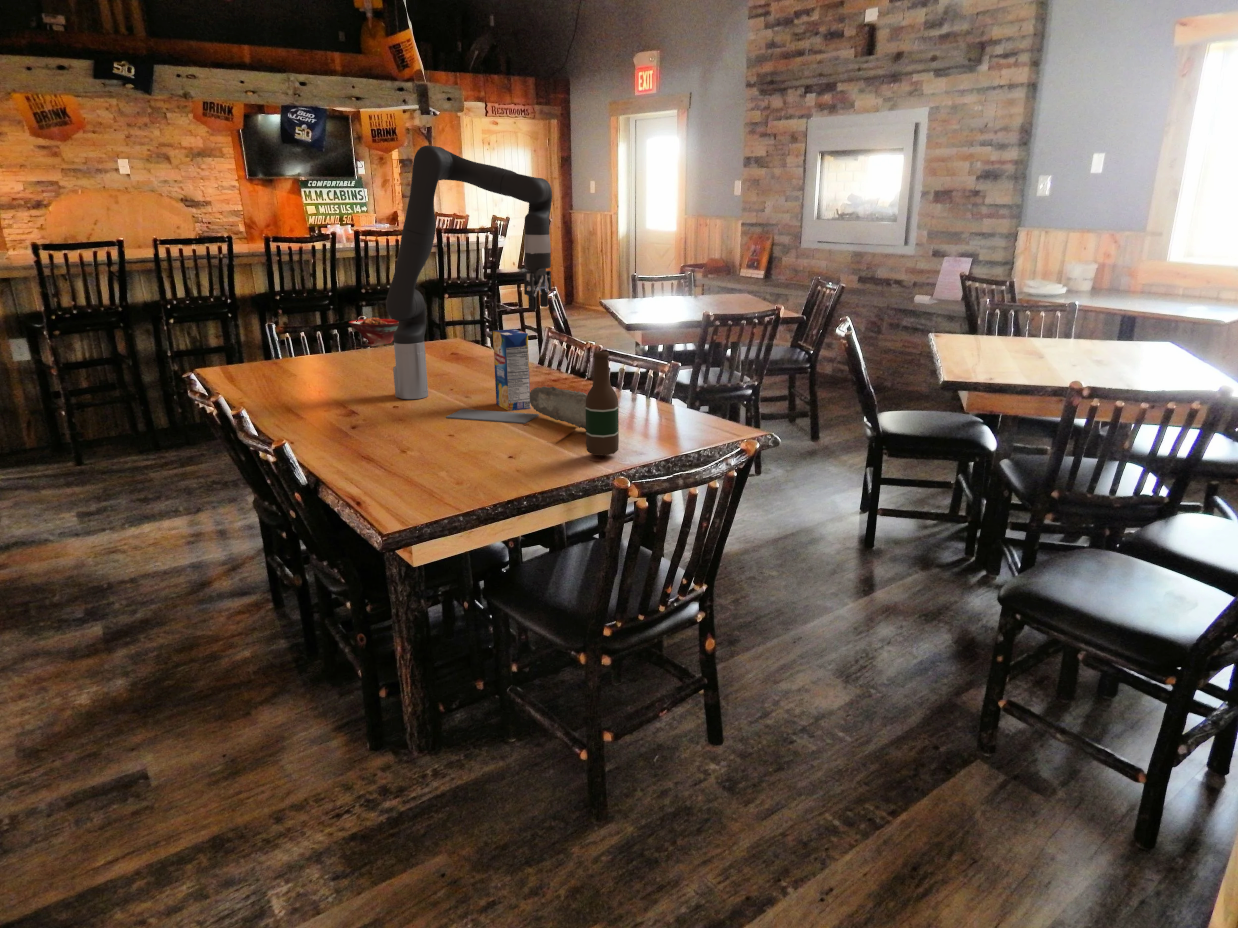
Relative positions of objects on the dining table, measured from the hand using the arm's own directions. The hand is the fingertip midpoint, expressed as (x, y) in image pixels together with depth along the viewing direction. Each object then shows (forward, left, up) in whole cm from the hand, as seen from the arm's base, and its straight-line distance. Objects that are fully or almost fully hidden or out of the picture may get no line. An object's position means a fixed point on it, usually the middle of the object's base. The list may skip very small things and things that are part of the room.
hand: (538, 308), depth 241 cm
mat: (-7, -20, -28) cm, 35 cm away
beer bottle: (+34, -45, -29) cm, 64 cm away
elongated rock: (+18, -23, -29) cm, 41 cm away
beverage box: (-7, -6, -29) cm, 30 cm away
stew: (-106, +79, -29) cm, 135 cm away
